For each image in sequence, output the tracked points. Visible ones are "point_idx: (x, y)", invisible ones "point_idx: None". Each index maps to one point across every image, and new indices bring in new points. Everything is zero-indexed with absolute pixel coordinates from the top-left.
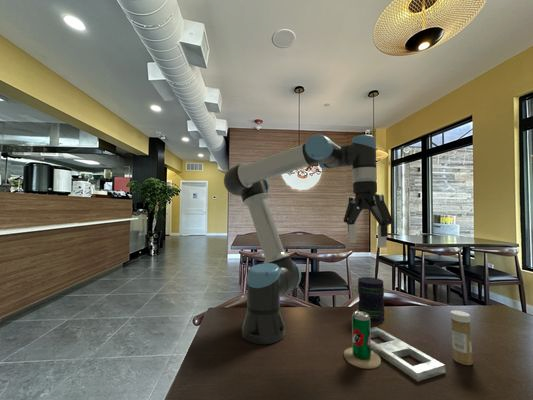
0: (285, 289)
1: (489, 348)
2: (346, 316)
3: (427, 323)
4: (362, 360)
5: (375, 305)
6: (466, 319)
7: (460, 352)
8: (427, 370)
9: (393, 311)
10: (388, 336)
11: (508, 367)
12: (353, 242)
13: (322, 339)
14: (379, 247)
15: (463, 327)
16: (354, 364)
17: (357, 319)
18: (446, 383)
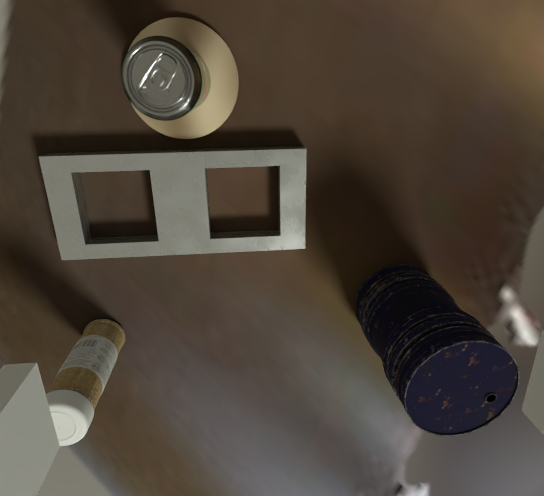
0: None
1: (139, 437)
2: (442, 227)
3: (293, 418)
4: None
5: (379, 320)
6: None
7: (85, 336)
8: (47, 194)
9: None
10: (237, 237)
11: None
12: (534, 377)
13: (331, 21)
14: (7, 365)
15: (50, 387)
16: (151, 25)
17: (140, 42)
18: (31, 216)
